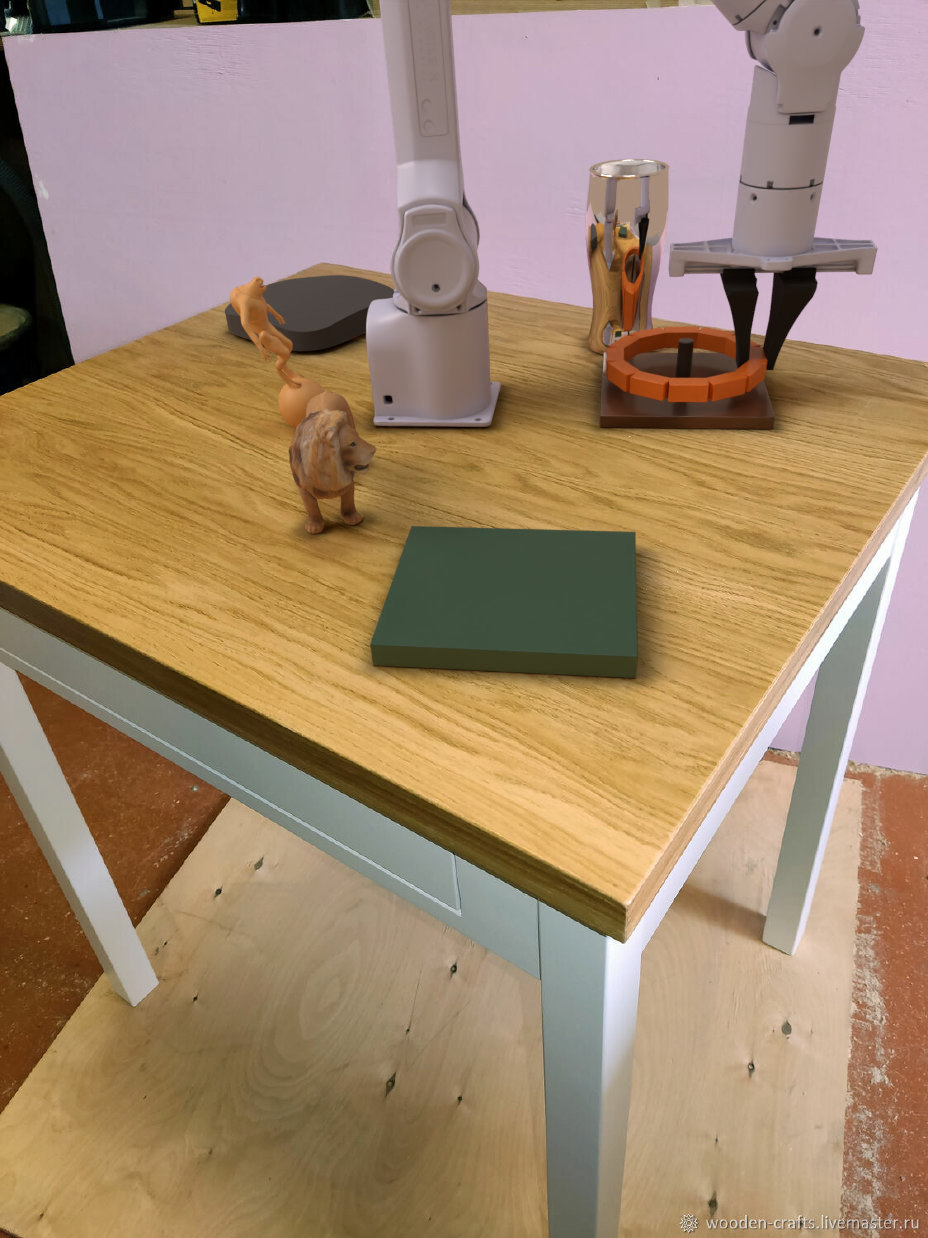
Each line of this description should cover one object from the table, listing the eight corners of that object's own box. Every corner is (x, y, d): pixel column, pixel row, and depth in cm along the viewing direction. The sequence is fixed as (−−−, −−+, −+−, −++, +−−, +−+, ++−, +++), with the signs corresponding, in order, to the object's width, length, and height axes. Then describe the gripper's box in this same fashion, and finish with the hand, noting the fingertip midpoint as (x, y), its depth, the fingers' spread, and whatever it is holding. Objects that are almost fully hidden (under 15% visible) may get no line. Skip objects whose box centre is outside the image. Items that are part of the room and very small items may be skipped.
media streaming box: (312, 361, 85) (306, 329, 83) (213, 333, 93) (206, 303, 91) (414, 314, 94) (412, 284, 92) (316, 292, 101) (312, 264, 100)
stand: (373, 665, 49) (369, 644, 48) (413, 545, 58) (411, 525, 58) (636, 678, 47) (637, 656, 46) (634, 551, 56) (635, 531, 56)
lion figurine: (390, 549, 58) (375, 419, 53) (308, 563, 57) (283, 433, 52) (360, 450, 70) (344, 334, 64) (290, 460, 69) (268, 344, 64)
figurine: (327, 447, 70) (302, 290, 63) (250, 453, 70) (215, 297, 63) (335, 403, 77) (313, 256, 70) (264, 408, 77) (235, 262, 70)
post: (599, 427, 71) (601, 372, 68) (603, 363, 81) (604, 312, 78) (773, 429, 69) (782, 372, 66) (754, 363, 79) (761, 311, 76)
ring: (604, 401, 70) (605, 384, 69) (607, 342, 79) (607, 326, 78) (772, 402, 68) (775, 385, 67) (754, 342, 77) (756, 325, 77)
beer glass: (670, 337, 85) (685, 160, 76) (640, 363, 80) (651, 178, 71) (602, 326, 88) (608, 156, 79) (569, 351, 83) (571, 173, 74)
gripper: (678, 196, 62) (663, 385, 70) (902, 190, 60) (859, 386, 68) (674, 173, 68) (660, 350, 76) (879, 167, 66) (842, 350, 74)
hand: (754, 365), depth 72 cm, fingers closed on ring, 1 cm apart
